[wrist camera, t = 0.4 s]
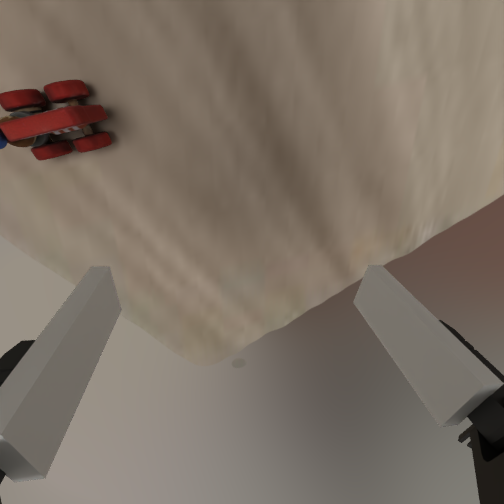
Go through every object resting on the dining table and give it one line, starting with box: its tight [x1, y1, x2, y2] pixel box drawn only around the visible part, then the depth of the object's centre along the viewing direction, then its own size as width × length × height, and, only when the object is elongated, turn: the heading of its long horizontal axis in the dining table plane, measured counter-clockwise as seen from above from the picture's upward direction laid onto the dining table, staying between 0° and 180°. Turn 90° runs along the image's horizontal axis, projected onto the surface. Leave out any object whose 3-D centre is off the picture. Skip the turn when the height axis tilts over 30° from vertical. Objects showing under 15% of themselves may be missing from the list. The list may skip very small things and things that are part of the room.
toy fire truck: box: [0, 80, 112, 160], centre depth 26 cm, size 7×12×10 cm, turn 100°
